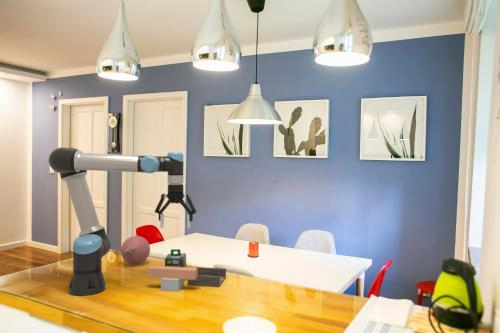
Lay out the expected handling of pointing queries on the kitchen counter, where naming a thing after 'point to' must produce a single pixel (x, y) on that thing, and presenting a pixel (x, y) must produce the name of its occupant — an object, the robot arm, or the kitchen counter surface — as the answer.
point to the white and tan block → (171, 284)
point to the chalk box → (175, 259)
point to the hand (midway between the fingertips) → (175, 227)
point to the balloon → (135, 250)
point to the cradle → (209, 277)
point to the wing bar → (173, 272)
